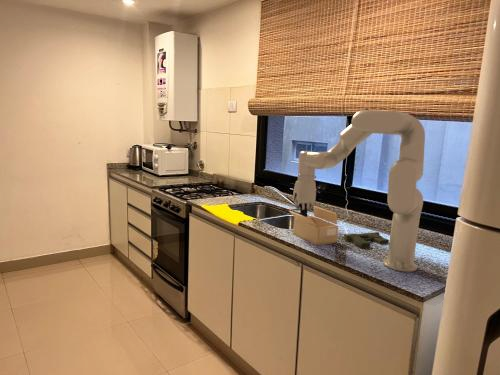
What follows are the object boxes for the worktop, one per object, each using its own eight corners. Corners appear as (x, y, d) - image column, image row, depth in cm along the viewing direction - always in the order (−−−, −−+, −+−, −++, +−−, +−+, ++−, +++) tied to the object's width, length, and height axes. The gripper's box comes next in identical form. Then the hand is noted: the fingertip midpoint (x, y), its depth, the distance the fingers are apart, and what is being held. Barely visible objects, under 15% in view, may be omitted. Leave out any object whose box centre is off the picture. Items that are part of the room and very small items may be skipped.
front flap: (311, 218, 162) (310, 219, 162) (317, 225, 164) (316, 226, 164) (289, 210, 176) (289, 211, 176) (296, 217, 178) (295, 217, 178)
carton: (337, 243, 170) (339, 225, 168) (317, 245, 164) (318, 227, 163) (311, 231, 186) (313, 215, 185) (292, 233, 181) (293, 217, 179)
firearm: (399, 239, 174) (375, 230, 187) (362, 243, 163) (339, 233, 176) (398, 245, 175) (374, 236, 188) (361, 250, 164) (338, 239, 176)
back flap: (336, 224, 169) (337, 224, 170) (335, 213, 168) (336, 213, 168) (314, 216, 184) (314, 215, 184) (313, 206, 182) (314, 205, 182)
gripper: (314, 177, 174) (311, 214, 177) (287, 177, 167) (285, 216, 170) (324, 179, 167) (321, 218, 170) (297, 179, 161) (294, 220, 163)
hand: (303, 217), depth 170 cm, fingers closed
